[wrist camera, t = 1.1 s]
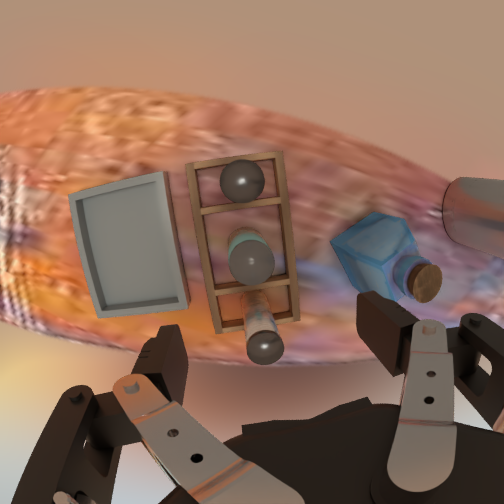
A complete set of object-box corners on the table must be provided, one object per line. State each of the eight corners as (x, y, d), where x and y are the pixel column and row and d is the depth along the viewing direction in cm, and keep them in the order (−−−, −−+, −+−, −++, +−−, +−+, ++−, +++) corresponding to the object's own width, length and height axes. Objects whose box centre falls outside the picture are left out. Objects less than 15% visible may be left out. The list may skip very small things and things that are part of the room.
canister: (265, 286, 30) (282, 331, 21) (268, 311, 31) (285, 361, 21) (238, 291, 30) (244, 337, 21) (242, 315, 31) (249, 367, 21)
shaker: (261, 224, 29) (272, 237, 22) (265, 258, 29) (277, 282, 22) (225, 229, 28) (225, 244, 21) (230, 264, 29) (232, 289, 22)
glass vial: (249, 166, 27) (261, 156, 18) (253, 194, 28) (267, 200, 18) (220, 170, 27) (216, 162, 18) (224, 199, 28) (223, 206, 18)
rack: (279, 152, 27) (282, 150, 26) (297, 314, 31) (300, 320, 30) (187, 165, 27) (185, 164, 25) (216, 327, 31) (215, 334, 29)
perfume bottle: (329, 241, 30) (386, 275, 18) (373, 211, 29) (444, 229, 18) (352, 285, 31) (408, 334, 19) (393, 256, 31) (459, 290, 19)
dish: (167, 172, 26) (162, 171, 24) (190, 300, 30) (188, 308, 28) (78, 193, 26) (68, 194, 24) (105, 310, 29) (98, 318, 27)
